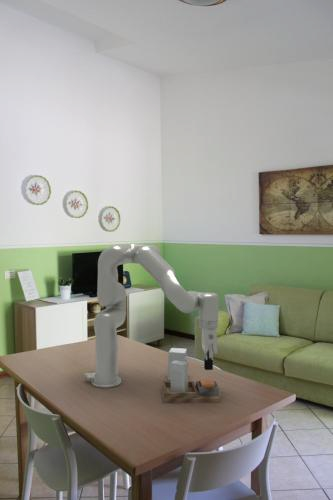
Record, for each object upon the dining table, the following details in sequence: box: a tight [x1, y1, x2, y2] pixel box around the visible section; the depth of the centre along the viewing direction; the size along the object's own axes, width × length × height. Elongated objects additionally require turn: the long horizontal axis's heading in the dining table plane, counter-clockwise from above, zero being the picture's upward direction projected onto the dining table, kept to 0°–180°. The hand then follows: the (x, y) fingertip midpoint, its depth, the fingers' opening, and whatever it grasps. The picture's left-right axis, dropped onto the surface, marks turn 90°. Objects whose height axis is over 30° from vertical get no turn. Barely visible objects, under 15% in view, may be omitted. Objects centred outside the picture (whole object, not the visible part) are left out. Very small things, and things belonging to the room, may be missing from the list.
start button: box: [199, 379, 215, 387], centre depth 174 cm, size 5×5×2 cm
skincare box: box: [170, 360, 189, 392], centre depth 173 cm, size 6×4×12 cm
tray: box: [160, 380, 221, 404], centre depth 173 cm, size 22×14×4 cm, turn 94°
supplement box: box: [167, 347, 188, 381], centre depth 193 cm, size 7×7×13 cm
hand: (208, 369), depth 173 cm, fingers closed
